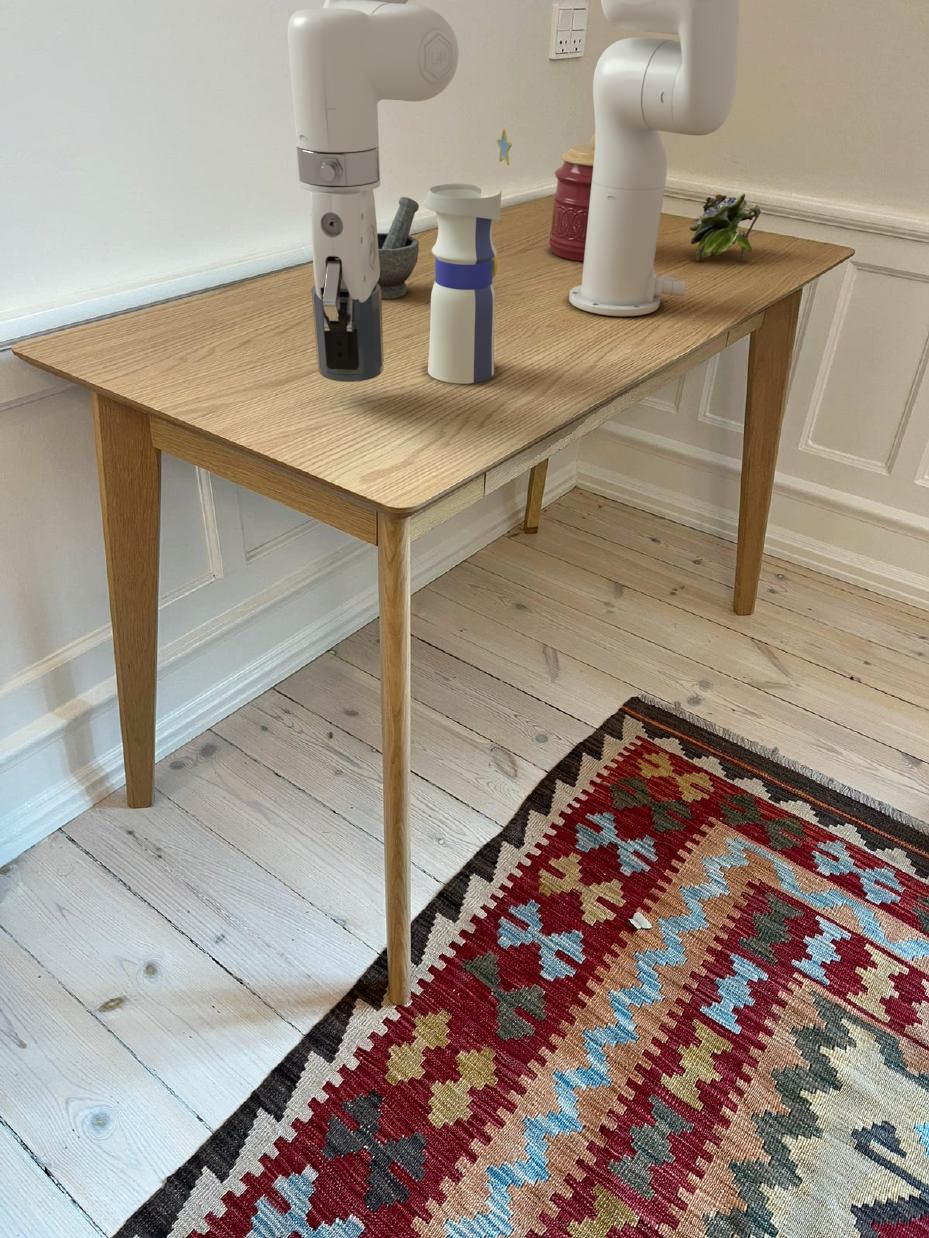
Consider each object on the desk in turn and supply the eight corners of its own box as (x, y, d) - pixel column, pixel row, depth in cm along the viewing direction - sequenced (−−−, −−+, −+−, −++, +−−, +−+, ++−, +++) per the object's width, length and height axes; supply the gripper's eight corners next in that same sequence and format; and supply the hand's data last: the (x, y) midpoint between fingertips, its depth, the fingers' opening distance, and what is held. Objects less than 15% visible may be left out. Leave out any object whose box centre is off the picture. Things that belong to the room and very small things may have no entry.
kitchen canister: (632, 265, 147) (648, 141, 136) (550, 262, 147) (560, 138, 136) (622, 244, 157) (637, 127, 147) (546, 241, 157) (555, 125, 147)
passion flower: (700, 283, 158) (724, 216, 158) (757, 286, 151) (783, 214, 150) (668, 252, 150) (693, 180, 149) (727, 253, 143) (754, 177, 142)
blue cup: (388, 359, 100) (385, 279, 95) (377, 383, 95) (374, 300, 90) (325, 356, 100) (319, 276, 95) (312, 380, 95) (305, 297, 90)
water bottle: (460, 352, 112) (466, 120, 98) (511, 372, 107) (525, 131, 93) (409, 368, 108) (407, 127, 93) (460, 389, 103) (467, 138, 88)
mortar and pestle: (380, 307, 126) (378, 212, 119) (335, 291, 131) (331, 200, 124) (439, 291, 133) (440, 201, 126) (394, 277, 138) (392, 189, 131)
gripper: (362, 190, 79) (371, 389, 89) (393, 152, 93) (397, 328, 103) (276, 186, 79) (295, 385, 90) (319, 149, 93) (331, 325, 104)
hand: (350, 353), depth 96 cm, fingers closed on blue cup, 6 cm apart
